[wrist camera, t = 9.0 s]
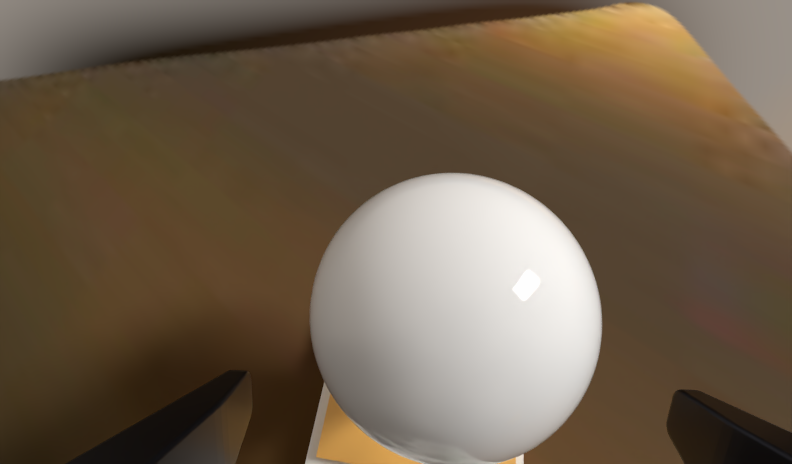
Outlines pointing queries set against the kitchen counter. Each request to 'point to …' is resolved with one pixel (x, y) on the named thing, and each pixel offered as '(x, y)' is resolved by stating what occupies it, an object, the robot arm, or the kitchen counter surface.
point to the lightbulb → (455, 320)
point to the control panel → (349, 440)
